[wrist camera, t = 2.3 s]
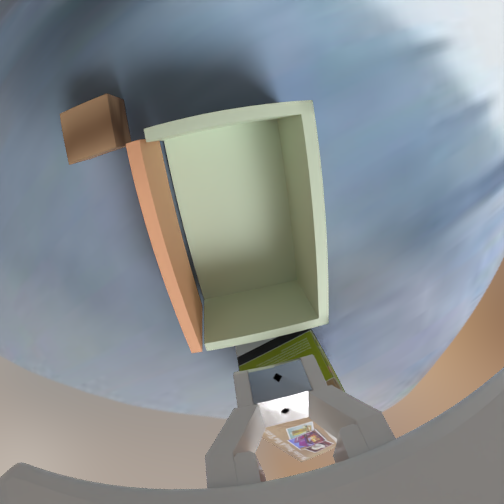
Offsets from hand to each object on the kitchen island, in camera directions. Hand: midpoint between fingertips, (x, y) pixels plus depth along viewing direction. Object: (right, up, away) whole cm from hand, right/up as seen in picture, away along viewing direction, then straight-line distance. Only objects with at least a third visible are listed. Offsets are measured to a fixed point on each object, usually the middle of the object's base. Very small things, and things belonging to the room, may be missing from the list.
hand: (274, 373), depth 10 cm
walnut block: (-16, +17, +13) cm, 27 cm away
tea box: (+4, -10, +29) cm, 31 cm away
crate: (-2, +9, +19) cm, 21 cm away
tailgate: (-8, +7, +18) cm, 21 cm away
